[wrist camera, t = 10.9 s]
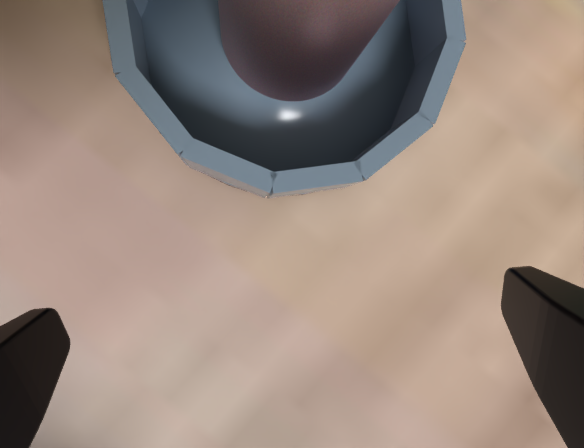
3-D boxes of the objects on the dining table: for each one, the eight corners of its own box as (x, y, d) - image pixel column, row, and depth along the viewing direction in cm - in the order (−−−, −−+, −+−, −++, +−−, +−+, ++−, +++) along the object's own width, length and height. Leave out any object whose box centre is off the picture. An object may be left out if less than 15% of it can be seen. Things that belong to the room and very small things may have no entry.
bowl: (258, 254, 20) (263, 262, 16) (67, 15, 18) (20, -43, 14) (470, 84, 21) (525, 52, 17) (305, -147, 20) (322, -240, 16)
